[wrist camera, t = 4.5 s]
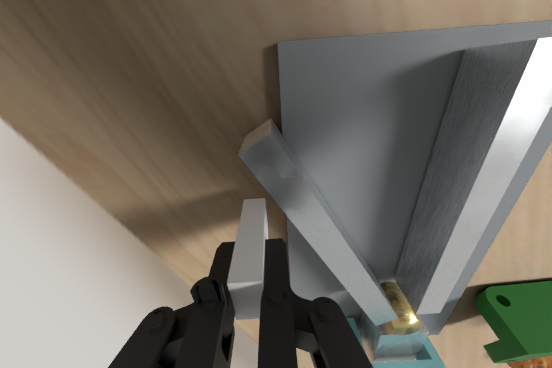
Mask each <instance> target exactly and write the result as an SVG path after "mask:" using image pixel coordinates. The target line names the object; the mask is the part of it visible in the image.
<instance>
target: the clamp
mask: <svg viewBox="0 0 552 368" xmlns="http://www.w3.org/2000/svg"><path fill="white" fill-rule="evenodd" d="M475 304H476V306H477V308H478V309H479V311H480V312H481V314H482V316H483V317H484V318H485V320H486V321H487V323H488V324H489V326H490V327H491V328H492V330H493V331H494V333H495V334H496V336H497V337H498V338H499V340H498V341H496V342H493V343H490V344H487V345H484V346H483V347H484V348H485V350H486V351H487V353H488V354H489V356H490V358H491V359H492V361H493V362H494V363H506V362H518V361H523V360H528V359H534V358H540V357H547V356H552V281H544V282H534V283H523V284H513V285H502V286H492V287H488V288H487V289H485V290H484V291H482V292H481V293H479V294H478V295H476V297H475Z"/></svg>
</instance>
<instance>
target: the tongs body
mask: <svg viewBox="0 0 552 368" xmlns="http://www.w3.org/2000/svg"><path fill="white" fill-rule="evenodd" d="M551 106H552V38H543V39H534V40H526V41H518V42H511V43H503V44H496V45H488V46H480V47H473V48H465V50H464V53H463V56H462V59H461V62H460V66H459V69H458V72H457V75H456V78H455V82H454V85H453V88H452V91H451V95H450V98H449V101H448V104H447V107H446V111H445V114H444V117H443V120H442V124H441V127H440V130H439V133H438V136H437V140H436V143H435V146H434V149H433V152H432V156H431V159H430V162H429V165H428V169H427V172H426V175H425V178H424V181H423V185H422V188H421V191H420V194H419V198H418V201H417V204H416V207H415V210H414V214H413V217H412V220H411V223H410V227H409V230H408V233H407V236H406V239H405V243H404V246H403V249H402V252H401V255H400V259H399V262H398V265H397V268H396V272H395V275H394V280H395V281H396V283H395V282H391V281H390V282H384V283H381V286H382V288H383V290H384V292H385V294H386V296H387V297H388V299H389V301H390V303H391V305H392V307H393V309H394V311H395V313H396V315H397V316H398V319H395V320H392V321H389V322H386V323H383V324H380V325H378V326H376V325H375V324H374V323H373V322H372V320H371V319H370V318H369V317H368V316H367V314H366V313H365V312H364V311H363V309H362V314H361V318H360V322H359V327H358V332H359V334H360V337H361V340H362V343H363V346H364V349H365V352H366V355H367V357H368V359H369V361H370V362H371V363H384V362H400V361H414V360H415V358H416V356H417V354H418V353H419V351H420V349H421V347H422V345H423V343H424V341H425V340H426V338H427V336H428V334H429V331H428V329H427V327H426V326H425V324H424V323H423V321H422V319H421V318H420V316H419V314H432V313H440V312H441V310H442V308H443V306H444V304H445V303H446V301H447V299H448V297H449V295H450V293H451V291H452V290H453V288H454V286H455V284H456V282H457V280H458V278H459V277H460V275H461V273H462V271H463V269H464V267H465V265H466V264H467V262H468V260H469V258H470V256H471V254H472V252H473V251H474V249H475V247H476V245H477V243H478V241H479V239H480V238H481V236H482V234H483V232H484V230H485V228H486V226H487V225H488V223H489V221H490V219H491V217H492V215H493V214H494V212H495V210H496V208H497V206H498V204H499V202H500V201H501V199H502V197H503V195H504V193H505V191H506V189H507V188H508V186H509V184H510V182H511V180H512V178H513V176H514V175H515V173H516V171H517V169H518V167H519V165H520V163H521V162H522V160H523V158H524V156H525V154H526V152H527V150H528V149H529V147H530V145H531V143H532V141H533V139H534V138H535V136H536V134H537V132H538V130H539V128H540V126H541V125H542V123H543V121H544V119H545V117H546V115H547V113H548V112H549V110H550V108H551Z"/></svg>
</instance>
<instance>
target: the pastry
mask: <svg viewBox="0 0 552 368" xmlns="http://www.w3.org/2000/svg"><path fill="white" fill-rule="evenodd" d="M506 363H507V364H508V365H509V366H510V367H512V368H552V356H547V357H540V358H534V359H528V360H523V361H518V362H506Z"/></svg>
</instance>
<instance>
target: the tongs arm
mask: <svg viewBox="0 0 552 368" xmlns="http://www.w3.org/2000/svg"><path fill="white" fill-rule="evenodd" d="M238 156H239V157H240V159H241V160H242V161H243V162H244V163H245V165H246V166H247V167H248V168H249V170H250V171H251V172H252V173H253V175H254V176H255V177H256V178H257V180H258V181H259V182H260V183H261V184H262V186H263V187H264V188H265V189H266V191H267V192H268V193H269V194H270V196H271V197H272V198H273V199H274V201H275V202H276V203H277V204H278V206H279V207H280V208H281V209H282V210H283V212H284V213H285V214H286V215H287V217H288V218H289V219H290V220H291V222H292V223H293V224H294V225H295V227H296V228H297V229H298V230H299V231H300V233H301V234H302V235H303V236H304V238H305V239H306V240H307V241H308V243H309V244H310V245H311V246H312V248H313V249H314V250H315V251H316V252H317V254H318V255H319V256H320V257H321V259H322V260H323V261H324V262H325V264H326V265H327V266H328V267H329V269H330V270H331V271H332V272H333V274H334V275H335V276H336V277H337V278H338V280H339V281H340V282H341V283H342V285H343V286H344V287H345V288H346V290H347V291H348V292H349V293H350V295H351V296H352V297H353V298H354V299H355V301H356V302H357V303H358V304H359V306H360V307H361V308H362V309H363V311H364V312H365V313H366V314H367V316H368V317H369V318H370V319H371V320H372V322H373V323H374V324H375V325H376V326H378V325H380V324H383V323H386V322H389V321H392V320H395V319H398V316H397V315H396V313H395V311H394V309H393V307H392V305H391V303H390V301H389V299H388V297H387V296H386V294H385V292H384V290H383V288H382V286H381V284H380V282H379V281H378V279H377V278H376V276H375V275H374V273H373V272H372V270H371V269H370V267H369V265H368V264H367V262H366V261H365V259H364V258H363V256H362V255H361V253H360V252H359V250H358V249H357V247H356V246H355V244H354V243H353V241H352V240H351V238H350V237H349V235H348V234H347V232H346V231H345V229H344V228H343V226H342V225H341V223H340V222H339V220H338V219H337V217H336V216H335V214H334V213H333V211H332V210H331V208H330V207H329V205H328V204H327V202H326V201H325V199H324V198H323V196H322V195H321V193H320V192H319V190H318V188H317V187H316V185H315V184H314V182H313V181H312V179H311V178H310V176H309V175H308V173H307V172H306V170H305V169H304V167H303V166H302V164H301V163H300V161H299V160H298V158H297V157H296V155H295V154H294V152H293V151H292V149H291V148H290V146H289V145H288V143H287V142H286V140H285V139H284V137H283V136H282V134H281V133H280V131H279V130H278V128H277V127H276V125H275V124H274V122H273V121H272V119H271V118H270V119H269V120H268V121H266V122H265V123H263V124H262V125H260V126H259V127H258V128H256V129H255V130H253V131H252V132H251V133H249V134H248V135H246V136H245V138H244V141H243V143H242V146H241V148H240V151H239V153H238Z"/></svg>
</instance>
